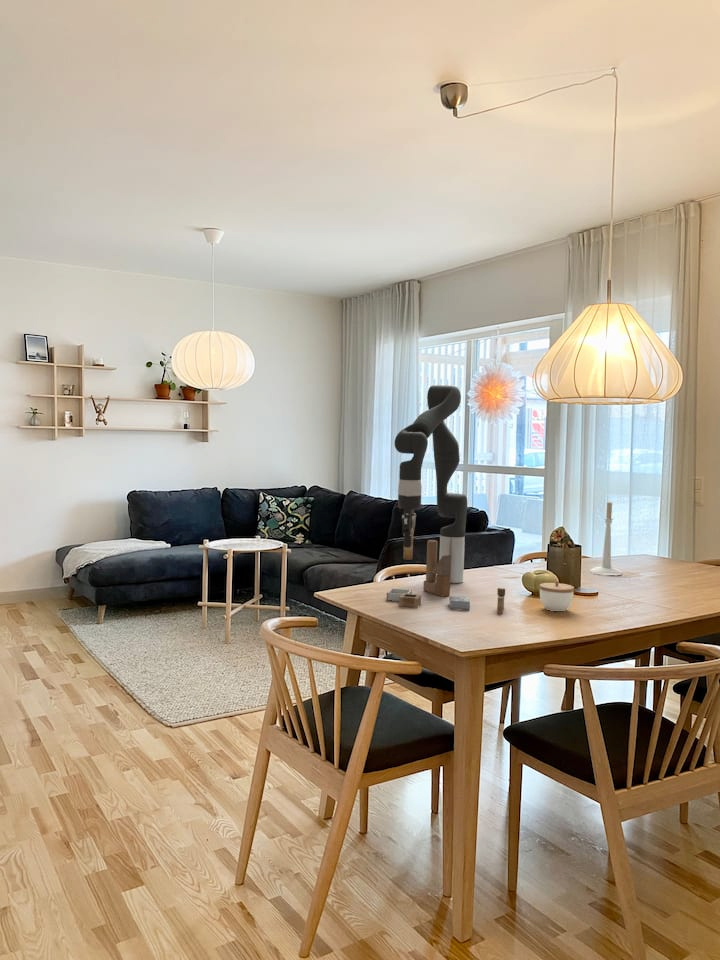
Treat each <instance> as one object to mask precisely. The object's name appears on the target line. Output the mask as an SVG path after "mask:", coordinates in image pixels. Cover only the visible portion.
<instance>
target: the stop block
mask: <svg viewBox="0 0 720 960" xmlns="http://www.w3.org/2000/svg"><path fill="white" fill-rule="evenodd" d="M496 596H497V603H496V604H497V607H496V608H497V609H496V614H497V613H499V615H503V612H504V609H505V596H506V588H505V587H504V588H503V587H497V595H496Z"/></svg>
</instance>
